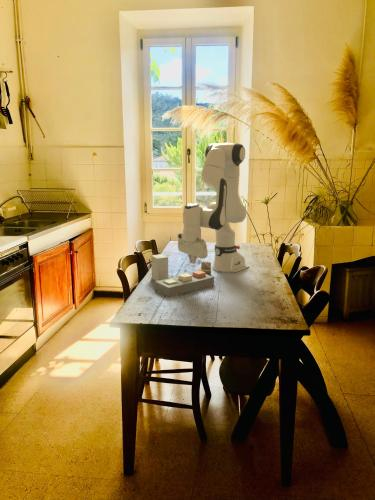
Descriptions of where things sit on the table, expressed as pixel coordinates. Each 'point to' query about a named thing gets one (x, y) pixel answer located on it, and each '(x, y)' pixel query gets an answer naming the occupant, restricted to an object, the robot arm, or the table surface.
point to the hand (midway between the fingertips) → (192, 263)
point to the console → (183, 285)
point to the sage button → (170, 282)
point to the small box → (159, 267)
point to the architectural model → (206, 267)
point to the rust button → (199, 274)
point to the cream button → (184, 277)
